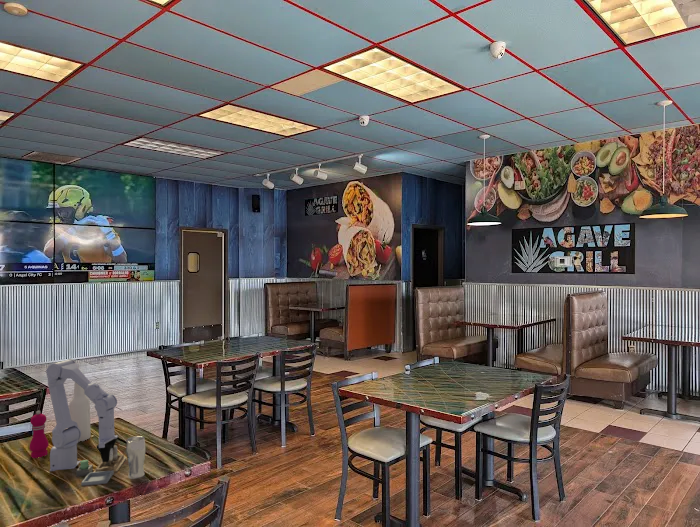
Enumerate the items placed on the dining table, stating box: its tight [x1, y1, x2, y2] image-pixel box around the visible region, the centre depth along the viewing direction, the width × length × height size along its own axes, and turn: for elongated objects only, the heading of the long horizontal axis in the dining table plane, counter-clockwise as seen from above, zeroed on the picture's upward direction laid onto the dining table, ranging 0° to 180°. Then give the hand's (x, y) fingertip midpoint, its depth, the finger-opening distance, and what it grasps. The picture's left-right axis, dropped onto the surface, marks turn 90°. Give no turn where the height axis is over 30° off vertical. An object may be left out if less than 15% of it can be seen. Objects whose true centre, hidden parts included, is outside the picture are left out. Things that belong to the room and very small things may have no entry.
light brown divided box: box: [93, 444, 127, 473], centre depth 208 cm, size 9×14×7 cm, turn 10°
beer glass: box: [125, 435, 146, 480], centre depth 198 cm, size 7×7×15 cm
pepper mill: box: [28, 410, 50, 459], centre depth 222 cm, size 7×7×20 cm
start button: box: [79, 459, 89, 469], centre depth 201 cm, size 3×3×4 cm
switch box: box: [75, 464, 94, 477], centre depth 201 cm, size 5×5×3 cm
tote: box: [80, 470, 115, 487], centre depth 195 cm, size 9×9×2 cm
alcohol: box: [68, 382, 92, 443], centre depth 241 cm, size 9×9×30 cm
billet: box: [101, 448, 113, 466], centre depth 204 cm, size 4×4×6 cm
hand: (107, 459), depth 204 cm, fingers closed on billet, 4 cm apart
